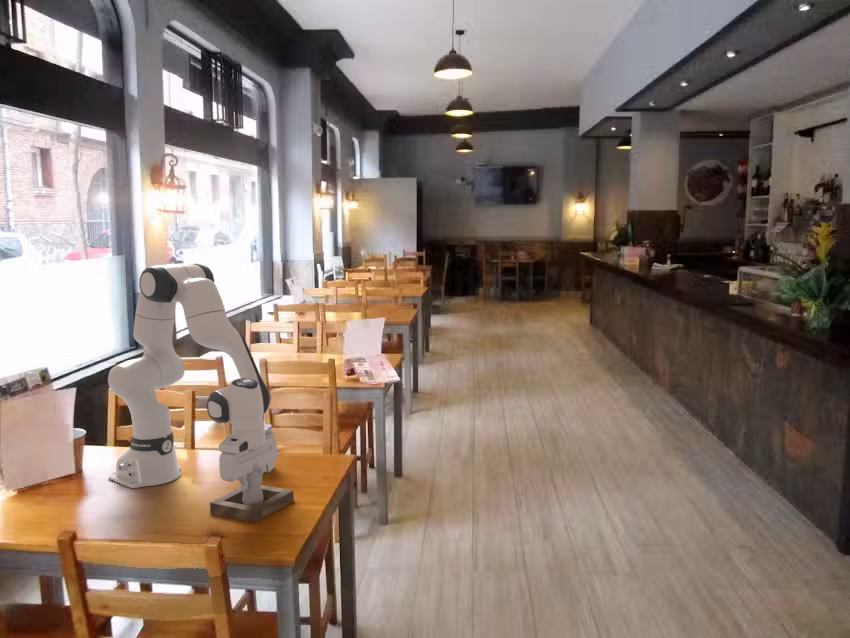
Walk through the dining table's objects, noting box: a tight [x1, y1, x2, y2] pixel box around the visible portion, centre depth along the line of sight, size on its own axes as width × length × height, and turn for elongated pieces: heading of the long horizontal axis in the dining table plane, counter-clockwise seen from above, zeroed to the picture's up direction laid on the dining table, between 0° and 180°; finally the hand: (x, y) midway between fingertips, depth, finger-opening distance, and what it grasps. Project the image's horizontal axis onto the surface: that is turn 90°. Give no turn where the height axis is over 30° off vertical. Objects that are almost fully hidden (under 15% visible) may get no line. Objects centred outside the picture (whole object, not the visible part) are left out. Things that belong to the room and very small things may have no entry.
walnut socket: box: [209, 484, 295, 523], centre depth 191 cm, size 16×16×3 cm
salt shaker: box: [242, 463, 264, 507], centre depth 190 cm, size 6×6×13 cm
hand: (251, 486), depth 190 cm, fingers closed on salt shaker, 4 cm apart
